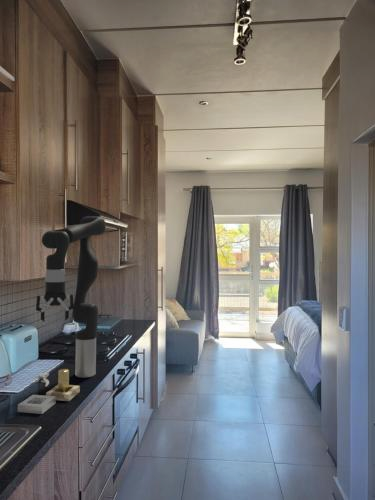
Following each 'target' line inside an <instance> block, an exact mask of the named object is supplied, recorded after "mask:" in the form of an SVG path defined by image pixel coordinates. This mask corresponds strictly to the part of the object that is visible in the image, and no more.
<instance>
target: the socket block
mask: <svg viewBox="0 0 375 500" xmlns="http://www.w3.org/2000/svg"><path fill="white" fill-rule="evenodd" d="M56 403H57V400H56V396H46V395H41V394H40V395H39V394H32V395H29V396H28V398H26V399H25V400H23V401H21V402H20V403H18V404H17V413H24V414H25V413H26V414H27V413H28V414H36V415H37V414H38V415H43V414H45V412H47V411H48V410H49V409H51V407H53V406H54V405H55V404H56Z"/></svg>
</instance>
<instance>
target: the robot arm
mask: <svg viewBox="0 0 375 500" xmlns="http://www.w3.org/2000/svg"><path fill="white" fill-rule="evenodd" d="M106 228H107V226H106V220H105V219H104V218H103V217H102V216H99V215H98V216H97V215H95V216H91V215H90V216H89V215H88V216H83V217H82V218H81V220H80V223H79V224H73V225H68V226H65V227H64V228H60V229H59V228H58V229H52V230H47V231H46V232H45V233H43V235H42V237H41V243H42V245H43V246H44V247H45V248H46V249H55V252H54V253H53V254H48V255H47V256H46V261H45V262H46V265H45V268H46V269H45V277H44V278H45V281H44V282H45V283H44V284H45V285H44V287H45V289H44V290H45V291H44V293H45V294H44V295H39V294H38V295H36V304H35V305H36V306H35V311H37V312H40V320H41V321H42V322H45V318H46V317H45V310H47V308H48V307H49V306H51V307H54V306H56V307H57V306H62V307H63V309H64V320H65V321H67V320H68V319H69V316H70V310H72V316H71V317H72V321H73V322H74V323H77V324H85V328H83V329H80V330H78V331H76V333H75V361H74V363H75V365H74V366H75V367H74V368H75V371H74V374H75V377H77V378H84V379H85V378H90V377H94V376H96V373H97V372H96V370H97V369H96V367H97V333H98V323H99V322H98V321H99V309H98V305H97V304H95V303H86V297H87V293H88V291H89V290H90V288H91V287H92V285H93V284H94V282H95V281H96V279H97V278H98V272H99V271H98V270H99V261H98V259H97V256H96V254H95V253H94V250H93V249H92V245H91V236H92V237H93V236H100V235H103V234H104V233H105V231H106ZM77 241H79V252H78V264H77V275H76V276H77V277H76V278H77V279H76V290H75V294H74V295H75V296H74V295H73V294H71V293H70V294H66V270H65V269H66V267H65V265H66V257H67V253H68V249H69V246H70V244H72V243H75V242H77ZM43 299H44V301H46V302H45V303H44V304H43V306H42V307H40V304H41V302H42V301H43ZM66 299H67V300H69V306H67V304H66V302H65V300H66Z"/></svg>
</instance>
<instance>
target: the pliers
mask: <svg viewBox="0 0 375 500" xmlns="http://www.w3.org/2000/svg"><path fill="white" fill-rule="evenodd" d="M38 376H39V377H38V378H36V380H35V379H34V380H35V382H33V383H32V384H35V383H38V382H39V380H40V383H43V384H45V385H44V387H45V388H47V387H48V386H49V384H50V381H49V379H48V377H49V376H50V372H47V373H43V372H40V374H39V375H38Z"/></svg>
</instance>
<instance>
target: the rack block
mask: <svg viewBox="0 0 375 500" xmlns="http://www.w3.org/2000/svg"><path fill="white" fill-rule="evenodd" d="M80 389H81V386H80V385H74V384H69V391H68V392H58V384H57V385H55V386H54V387H53V388H51V389H50V390H48V391H46V393H45V396H56V401H60V402H61V401H62V402H63V401H64V402H70V401H71V400H72V399H74V397H76V396H77V395H78V394H80V391H81V390H80Z"/></svg>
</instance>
